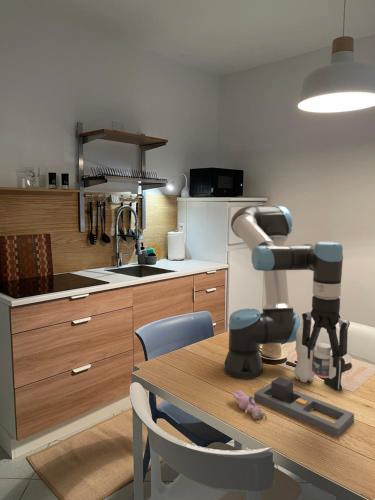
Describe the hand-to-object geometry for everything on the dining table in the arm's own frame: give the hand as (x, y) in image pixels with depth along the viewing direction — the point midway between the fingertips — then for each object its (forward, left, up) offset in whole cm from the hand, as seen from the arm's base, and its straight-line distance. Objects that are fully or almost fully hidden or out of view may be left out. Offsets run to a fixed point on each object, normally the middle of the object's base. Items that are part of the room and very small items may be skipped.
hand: (322, 373), depth 112 cm
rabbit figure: (-19, -11, -15) cm, 26 cm away
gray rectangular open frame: (-7, +1, -15) cm, 16 cm away
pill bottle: (0, 0, 0) cm, 1 cm away
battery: (-7, +24, -15) cm, 29 cm away
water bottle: (-17, +21, -15) cm, 31 cm away
